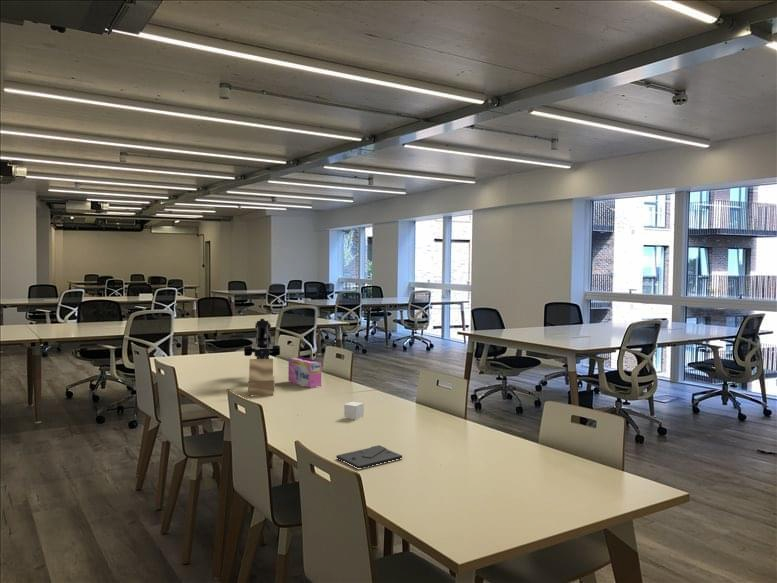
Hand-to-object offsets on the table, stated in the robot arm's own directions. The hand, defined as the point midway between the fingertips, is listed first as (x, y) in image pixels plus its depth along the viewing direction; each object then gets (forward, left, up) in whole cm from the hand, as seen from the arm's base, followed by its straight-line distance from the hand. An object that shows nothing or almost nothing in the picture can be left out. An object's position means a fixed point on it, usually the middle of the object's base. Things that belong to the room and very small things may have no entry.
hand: (262, 363), depth 311 cm
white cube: (+77, +10, -14) cm, 79 cm away
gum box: (0, +25, -14) cm, 28 cm away
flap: (+12, -6, -1) cm, 14 cm away
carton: (+10, -4, -14) cm, 17 cm away
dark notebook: (+127, -14, -14) cm, 128 cm away
